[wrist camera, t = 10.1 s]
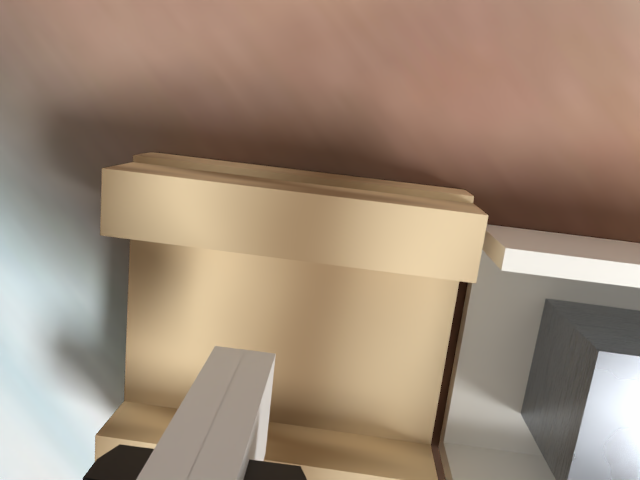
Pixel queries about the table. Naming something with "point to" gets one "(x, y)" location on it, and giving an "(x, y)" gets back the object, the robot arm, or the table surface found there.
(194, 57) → the table surface
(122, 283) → the table surface
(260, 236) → the slot rail
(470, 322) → the tray
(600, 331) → the grey metallic cube
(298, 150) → the table surface
